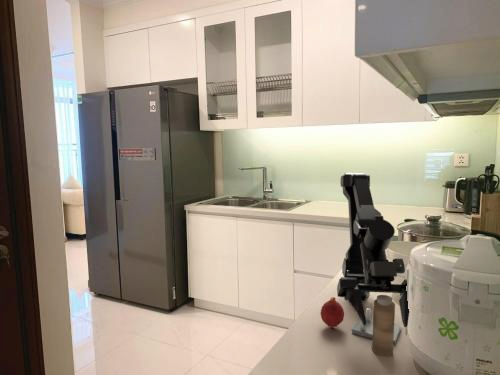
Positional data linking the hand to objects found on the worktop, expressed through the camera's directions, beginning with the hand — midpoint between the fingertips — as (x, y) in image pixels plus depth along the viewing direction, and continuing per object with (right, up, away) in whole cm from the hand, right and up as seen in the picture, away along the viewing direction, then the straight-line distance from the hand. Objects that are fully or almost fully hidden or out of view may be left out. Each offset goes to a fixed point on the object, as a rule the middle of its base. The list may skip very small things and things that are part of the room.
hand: (385, 325), depth 78 cm
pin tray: (+2, -5, +10) cm, 12 cm away
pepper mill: (0, -6, +2) cm, 7 cm away
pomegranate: (-9, -5, +12) cm, 16 cm away
